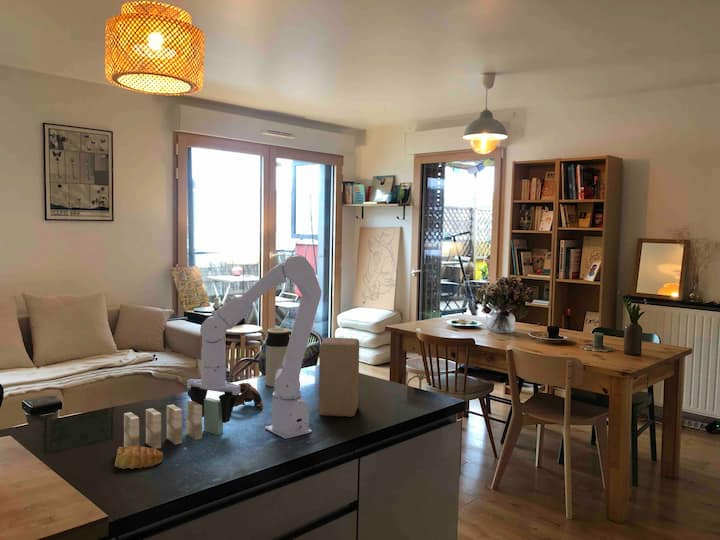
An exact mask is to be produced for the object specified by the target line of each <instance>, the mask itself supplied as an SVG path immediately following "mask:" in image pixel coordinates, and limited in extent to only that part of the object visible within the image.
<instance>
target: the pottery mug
mask: <svg viewBox="0 0 720 540" xmlns="http://www.w3.org/2000/svg"><path fill="white" fill-rule="evenodd" d="M237 385H240V394H239V397H238V398H237V400H236V402H235V404H234V408H235V407H238V406H246V403H251V402H253V404H254V406H259V409H260V410H261V411H263V409H264V405H263V400H262V396H261V394H260V393H259V391H258V390H257V388H256V387H254V386H252V385H251V384H250V383H248V382H241V383H239V384H237Z"/></svg>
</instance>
